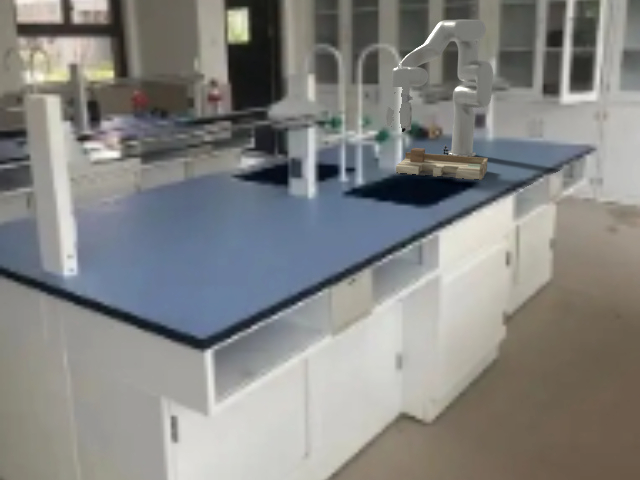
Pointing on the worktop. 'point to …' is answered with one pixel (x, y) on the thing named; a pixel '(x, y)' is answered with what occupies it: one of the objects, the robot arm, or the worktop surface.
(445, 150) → the molecular model
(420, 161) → the walnut block
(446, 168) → the board
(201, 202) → the worktop surface
